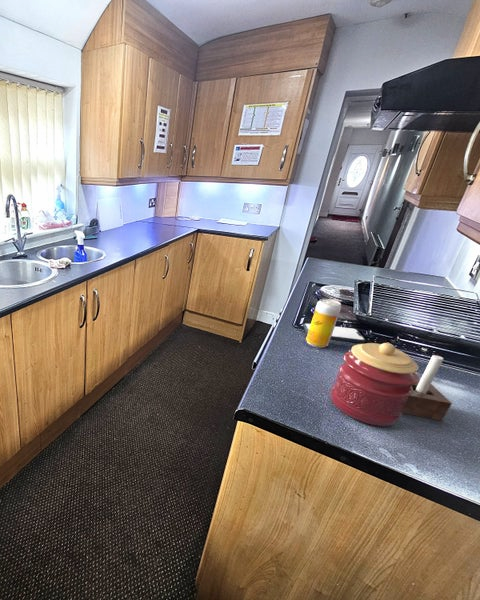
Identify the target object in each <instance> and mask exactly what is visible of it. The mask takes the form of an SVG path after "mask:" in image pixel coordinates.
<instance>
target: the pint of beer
mask: <svg viewBox="0 0 480 600" xmlns="http://www.w3.org/2000/svg"><path fill="white" fill-rule="evenodd" d="M341 310H342V303H341V302H339V301H338V300H335V299H331V298H320V299H319V301H317V302H316V306H315V309H314V313H313V316H312V319H311V322H310V324H311V325H310V328H309V331H308V334H307V333H306V334H307V335H306V338H305V341H306V343H307V344H308V345H310V346H312V347H315V348H320V349H321V348H322V349H323V348H326V347H329V344H330V341H331V340H332V339H331V336H332V333H333V330H334V327H336V323H337V321H338V319H339V316H340V313H341Z"/></svg>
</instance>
